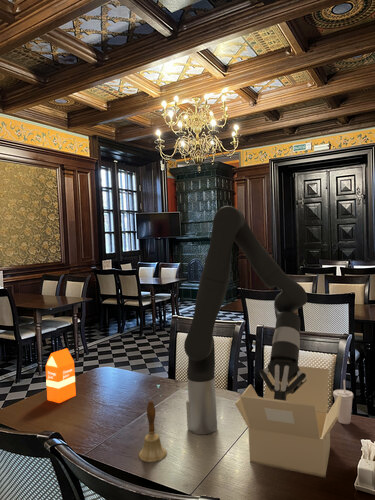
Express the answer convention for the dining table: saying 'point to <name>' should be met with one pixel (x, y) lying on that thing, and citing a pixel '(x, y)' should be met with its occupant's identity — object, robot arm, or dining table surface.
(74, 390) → the orange juice
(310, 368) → the carton
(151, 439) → the hand bell
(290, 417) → the front flap
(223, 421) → the dining table surface
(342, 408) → the smoothie
